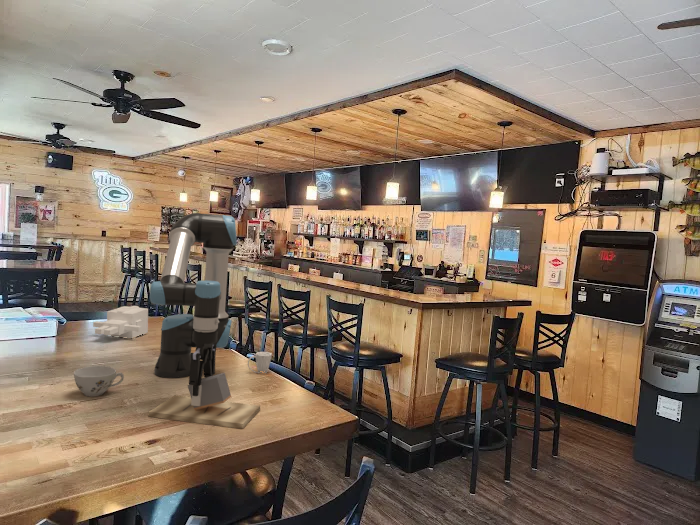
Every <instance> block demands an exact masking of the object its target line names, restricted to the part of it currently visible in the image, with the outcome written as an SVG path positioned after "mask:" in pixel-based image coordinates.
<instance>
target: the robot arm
mask: <svg viewBox="0 0 700 525" xmlns="http://www.w3.org/2000/svg"><path fill="white" fill-rule="evenodd" d="M236 226H237V225H236V219H235V217H233V216H231V215H224V214H215V213H214V214H212V213H201V212H192V213H188V214H187V215H184V216H183V217H181V218H179V219H178V220H176V222H175V223H174V224H173V225H172V227H171V228H170V230H169V234H168V240H169V246H168V249H167V253H166V257H165V261H164V265H163V269H162V272H161V275H160V276H161V277H160V278H159V279H160V280H158V281H153V282H151V285H150V289H149V301H150V303H151V304H153V305H161V306H182V307H183V306H185V307H194V311H193V312H194V313H193V314H192V313H191V314H190V313H182V314H181V313H179V314H174V315H173V314H172V315H169V316H166V317H164V319H163V320H162V321H161V322H162V323H161V329H160V331H161V334H160V335H161V336H160V349H159V350H160V351H159V356H158V359H157V361H156V363H155V366H154V372H153V374H154V375H155V376H156V377H160V378H167V379H168V378H169V379H174V378H175V379H177V378H185V377H189V378H188V385H192V401H191V405H193V406H201V391H202V385H200V384H201V379H202V378H206V377H210V376H214V375H216V355H217V354H216V352H217V351H216V350H217V349H223V348H225V347H226V346H227V345H228V342H229V337H230V334H231V333H230V332H231V327H232V323H233V322H232V319H230V318H229V314H228V312H226V300H227V286H228V285H227V284H228V283H227V282H228V269H229V256H230V253H231V252H232V251H233V249H234V246H237V244H238V243H237V242H238V241H237V227H236ZM195 243H202V248H203V249H204V251H205V252H206V256H205V259H206V260H205V272H204V274H205V275H204V280H198V281H197V282H196V283H192V282H191V283H190V282H185V279H186V274H187V268H188V264H189V261H190V260H189V259H190V254H191V249H192V246H193V245H194V244H195ZM192 348H195V351H194V352H192Z"/></svg>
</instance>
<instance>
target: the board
mask: <svg viewBox="0 0 700 525" xmlns="http://www.w3.org/2000/svg"><path fill="white" fill-rule="evenodd" d="M191 401H192V399H191V396H186V395H185V396H184V395H176V394H175V395H173V396H172V397H170V398H168V399H167V400H165V401H164V402H162V403H160V404H159V405H157V406H155V407H154V408H152V409H151V410H149V411H148V418H149V417H150V418H157V419H165V420H174V421H181V422H188V423H195V424H203V425H211V426H218V427H219V426H220V427H227V428H232V429H233V428H234V429H241V430H243V429H244V428H245V427H246V426H247V425H248V424H249V423H250V421H252V420H253V419H254V418H255V416H257V414H258V413H259V412H260V411H261V405H258V404H257V405H256V404H249V403H242V402H234V401H233V402H232V401H225V402H224V403H221V404H217V405H213V406H209V407H205V408H201V409H196V410H194V407H193V405H191Z"/></svg>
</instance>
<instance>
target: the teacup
mask: <svg viewBox="0 0 700 525" xmlns="http://www.w3.org/2000/svg"><path fill="white" fill-rule="evenodd" d="M116 372H117V370H116V368H114V367H111V366H108V365H107V366H106V365H90V366H84V367H82V368H77V369H75V370H74V371H73V377H74V383H75V385H76V387H77V388H78V390H79V391H80V392H81V393H82V394H83V395H84V396H86V397H99V396H102V395H103V394H104V393H105V392H107V390H109V388H111V387H115V386H119V385H120V384H121V383H122V382H123V381H124V380H125V379H124V378H125V377H124V376H125V375H124V373H123V372H120V371H119V372H117V373H116ZM117 377H120V378H121V379H120V380H119V381H117V382H116V383H114V381H115V379H116V378H117Z"/></svg>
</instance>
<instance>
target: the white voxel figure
mask: <svg viewBox="0 0 700 525" xmlns="http://www.w3.org/2000/svg"><path fill="white" fill-rule="evenodd" d="M92 323H93V324H92V326H93V328H95V329H94V334H95V335H102V334H103V335H104V336H107V335H111V336H119V337H127V338H133V337H136V336H139V335H141V336H143V335H145V334H147V333H148V332H149V308H147V307H145V308H144V307H139V305H131V306H129V305H128V306H127V305H124V306H120V307H118V308H114V309H111V310H108V311H106V321H98V320H96V321H93V322H92ZM142 334H143V335H142ZM139 337H140V336H139Z"/></svg>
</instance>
